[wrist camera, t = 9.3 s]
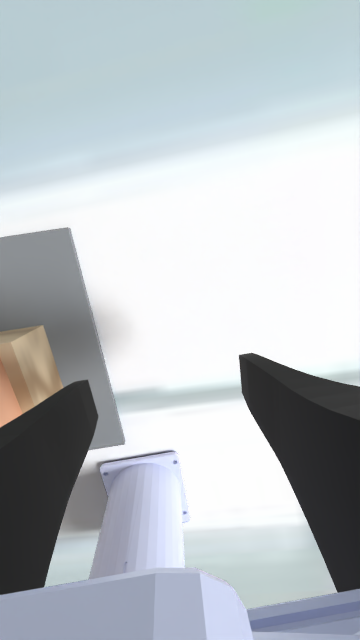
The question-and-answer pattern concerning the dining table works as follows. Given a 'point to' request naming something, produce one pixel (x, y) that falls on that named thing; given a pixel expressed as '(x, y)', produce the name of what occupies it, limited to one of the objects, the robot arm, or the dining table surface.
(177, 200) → the dining table surface
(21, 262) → the build plate
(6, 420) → the terracotta brick
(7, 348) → the oak brick
